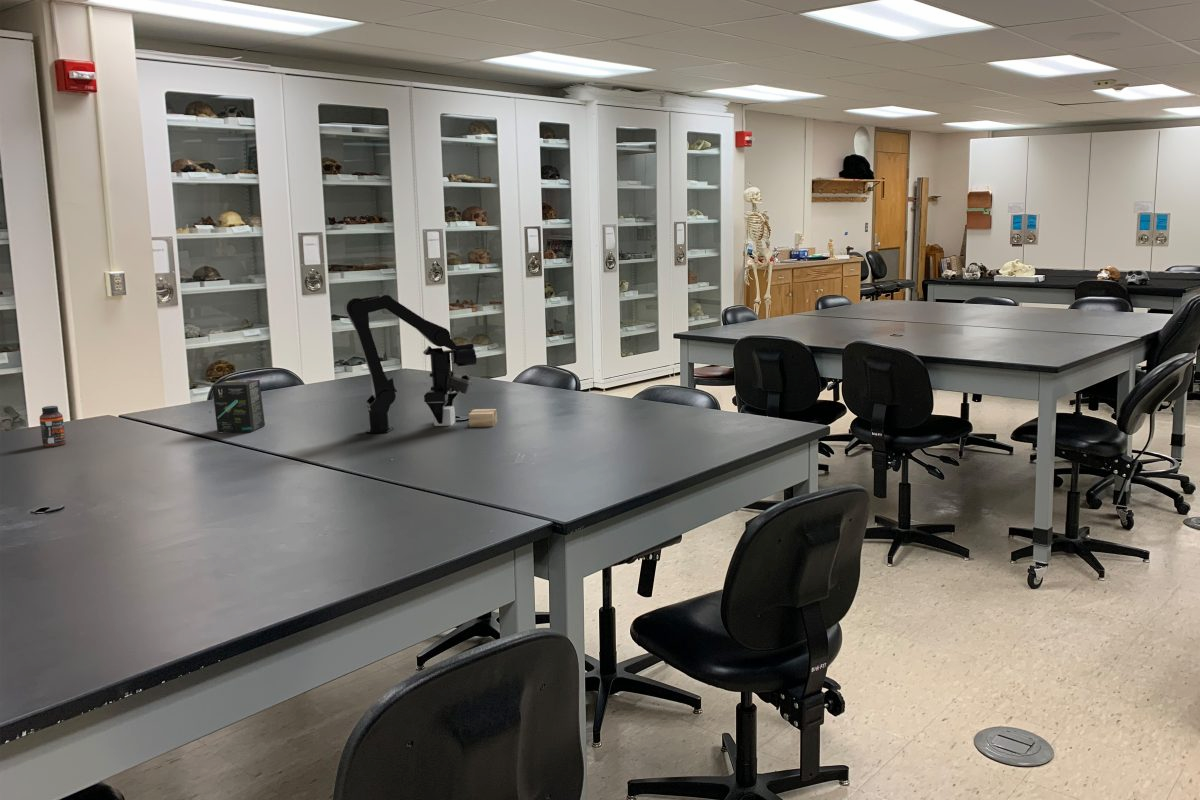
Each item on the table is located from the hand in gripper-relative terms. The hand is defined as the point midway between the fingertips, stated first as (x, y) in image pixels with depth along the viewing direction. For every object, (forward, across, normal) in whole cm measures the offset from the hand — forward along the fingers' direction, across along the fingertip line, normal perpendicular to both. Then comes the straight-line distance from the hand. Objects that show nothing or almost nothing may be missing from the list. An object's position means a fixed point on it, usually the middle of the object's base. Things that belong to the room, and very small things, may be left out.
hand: (444, 420), depth 289 cm
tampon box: (+1, -4, +62) cm, 62 cm away
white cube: (+1, 0, 0) cm, 1 cm away
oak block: (+1, -1, -12) cm, 12 cm away
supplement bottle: (+1, -22, +110) cm, 112 cm away
